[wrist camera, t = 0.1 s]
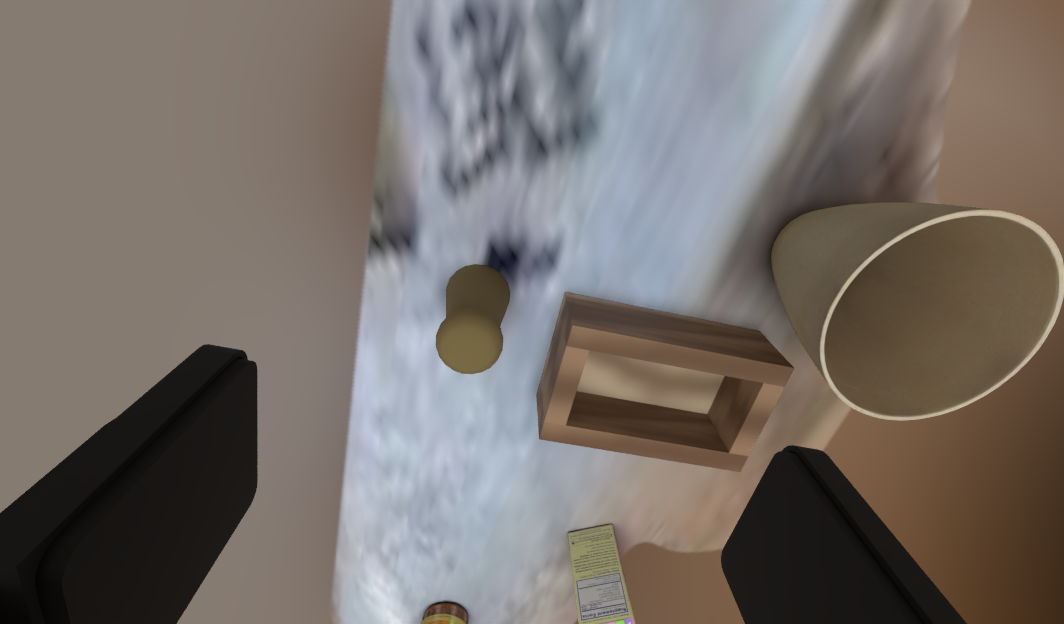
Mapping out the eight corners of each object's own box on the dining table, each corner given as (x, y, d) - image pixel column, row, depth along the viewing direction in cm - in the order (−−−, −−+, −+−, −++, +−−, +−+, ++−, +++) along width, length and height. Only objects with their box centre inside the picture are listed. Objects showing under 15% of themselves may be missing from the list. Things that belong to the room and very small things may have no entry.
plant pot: (901, 149, 43) (1096, 187, 28) (882, 305, 49) (1034, 400, 35) (725, 184, 44) (829, 237, 29) (729, 332, 50) (815, 436, 35)
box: (626, 578, 65) (647, 676, 54) (582, 585, 65) (595, 685, 55) (613, 521, 61) (634, 617, 50) (567, 530, 61) (578, 627, 50)
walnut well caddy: (565, 292, 47) (572, 325, 41) (759, 331, 50) (794, 368, 44) (536, 395, 52) (539, 439, 46) (714, 426, 55) (740, 472, 48)
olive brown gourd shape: (461, 331, 49) (447, 396, 39) (435, 277, 47) (412, 332, 37) (519, 310, 48) (520, 371, 38) (495, 255, 46) (489, 304, 36)
